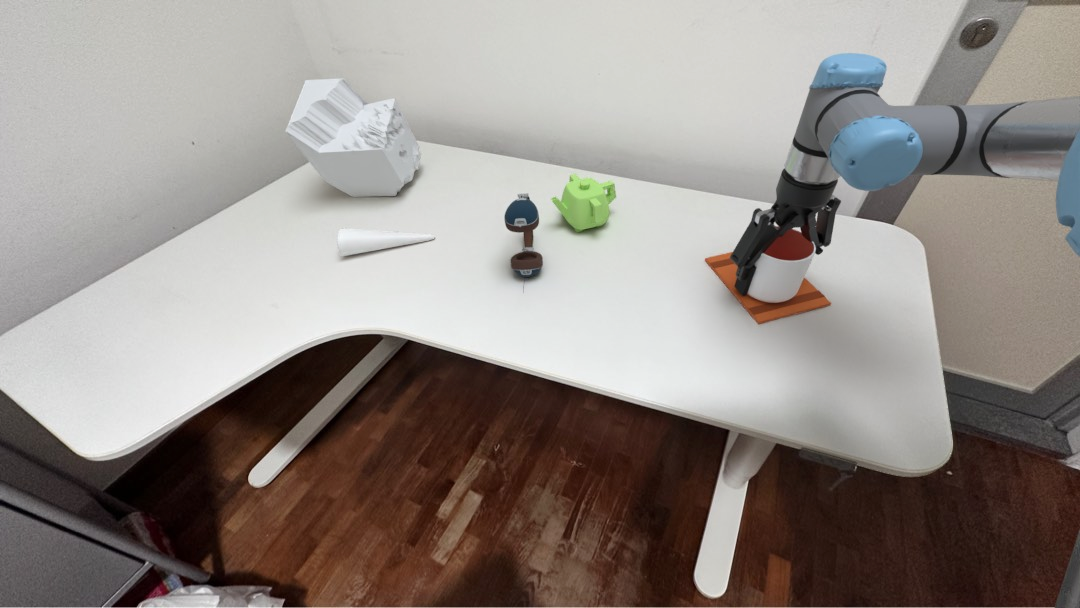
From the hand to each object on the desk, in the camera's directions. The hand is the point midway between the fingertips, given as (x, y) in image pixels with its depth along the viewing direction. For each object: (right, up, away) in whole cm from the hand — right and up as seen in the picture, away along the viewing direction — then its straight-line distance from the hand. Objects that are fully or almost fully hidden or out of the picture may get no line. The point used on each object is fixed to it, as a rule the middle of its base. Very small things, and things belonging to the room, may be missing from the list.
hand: (767, 284), depth 83 cm
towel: (+1, +1, +2) cm, 3 cm away
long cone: (-74, +8, +17) cm, 76 cm away
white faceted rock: (-83, +26, +36) cm, 94 cm away
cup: (0, -1, +1) cm, 1 cm away
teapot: (-31, +15, +20) cm, 40 cm away
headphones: (-44, +3, +9) cm, 45 cm away
